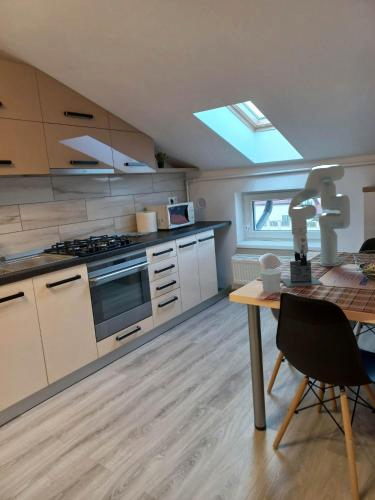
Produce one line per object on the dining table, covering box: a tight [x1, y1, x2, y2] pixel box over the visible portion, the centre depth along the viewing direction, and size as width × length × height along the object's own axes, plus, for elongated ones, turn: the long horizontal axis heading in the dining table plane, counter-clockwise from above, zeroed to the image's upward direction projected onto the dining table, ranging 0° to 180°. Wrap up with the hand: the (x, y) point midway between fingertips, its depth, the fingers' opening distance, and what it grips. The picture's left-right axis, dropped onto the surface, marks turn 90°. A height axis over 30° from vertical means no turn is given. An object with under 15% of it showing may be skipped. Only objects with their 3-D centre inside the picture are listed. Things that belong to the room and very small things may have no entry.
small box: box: [289, 260, 312, 283], centre depth 195 cm, size 11×6×10 cm, turn 74°
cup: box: [260, 268, 282, 294], centre depth 185 cm, size 10×10×10 cm
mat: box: [280, 275, 324, 288], centre depth 196 cm, size 18×14×1 cm
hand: (300, 262), depth 195 cm, fingers open, 9 cm apart
